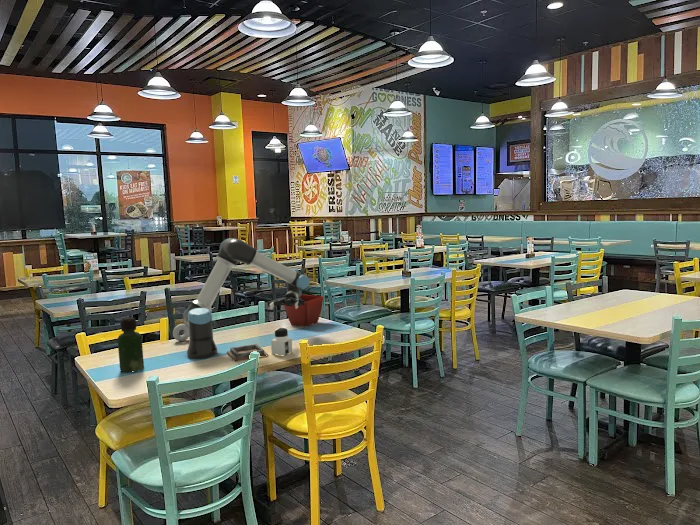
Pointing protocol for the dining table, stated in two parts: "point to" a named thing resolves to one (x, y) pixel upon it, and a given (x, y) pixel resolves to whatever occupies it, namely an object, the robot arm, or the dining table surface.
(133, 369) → the dark green bottle
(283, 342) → the container
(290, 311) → the plant pot
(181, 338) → the donut
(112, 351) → the dining table surface
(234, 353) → the plate
